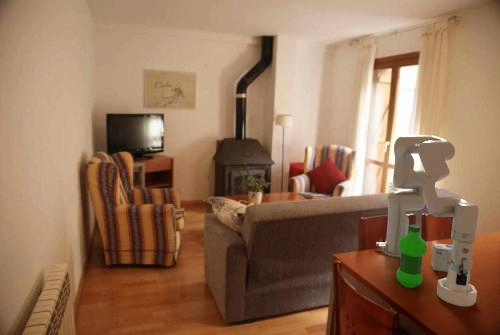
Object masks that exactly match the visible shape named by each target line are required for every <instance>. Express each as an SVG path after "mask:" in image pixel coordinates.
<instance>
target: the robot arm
mask: <svg viewBox="0 0 500 335" xmlns="http://www.w3.org/2000/svg"><path fill="white" fill-rule="evenodd" d="M393 151H394V166H393V177H392V184H393V186H394V187H395V189H399V190H398V191H397V190H396V191H392V192H390V193H389V194H388V196H387V200H386V201H387V202H386V203H387V208H388V209H387V210H388V212H387V227H386V240H385V241H384V242H378V241H376V243H375V244H376V245H375V246H376V247H378V248H382V249H381V251H382V253H383V254H384V255H387V256H389V257H392V258H398V259H399V258H401V252H400V250H399V245H398V243H399V240H400V238H402V237H403V236H405V235H407V234H409V230H408V225H410V219H409V216H408V215H407V214H406V212H407V211H409V212H410V211H420V210H421V211H422V210H423V209H424V208H426V209H427V211H428V213H429V214H430V215H432V216H433V217H436V218H446V217H447V218H451V217H452V223H451V224H452V225H451V226H452V227H451V233H450V238H451V239H452V244H451V245H452V252H451V258H452V261H451V262H454V264H455V266H456V267H457V268H458V274H457V277H456V284H457V285H462V286H466V283H467V275H468V274H467V273H468V269H470V270H472V264H473V252H474V251H473V249H474V248H473V246H474V245H473V243H475V241H476V233H477V226H478V219H479V212H480V211H479V210H480V209H479V206H478V205H477V204H475V203H473V202H469V201H467V200H465V199H464V198H462V197H460V196H459V197H456V196H455V197H454V196H453V197H450V196H449V197H448V196H444V197H439V195H438V193H437V190H436V183H437V182H440V181H442V180H444V179H446V178H447V177H448V176H450V172H451V171H450V168H449V166H448V164H447V161H451V160H452V159H453V158H454V157H455V155H456V149H455V146H454V145H453V143H452V142H450V141H449V140H446V139H445V138H444V139H443V138H441V137H438V136H435V135H430V134H429V135H428V134H427V135H426V134H423V135H422V134H418V135H417V134H408V135H406V134H405V135H402V136H399V137H397V138H396V140H395V142H394V145H393ZM412 154H413V155H415V154H417V155H418V156H419V159H420V162H421V164H422V167H423V169H424V170H423V169H418V168H415V158H414V157H413V155H412ZM425 206H426V207H425ZM451 264H452V263H451ZM460 265H461V266H460ZM460 269H463V270H461V271H460Z"/></svg>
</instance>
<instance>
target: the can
mask: <svg viewBox="0 0 500 335" xmlns="http://www.w3.org/2000/svg"><path fill="white" fill-rule="evenodd" d="M460 266H461V265H460ZM461 270H463V269H460V271H461ZM471 273H472V272H471V269H468V273H467V274H468V275H467V283H466V286H462V285H457V284H456V277H457V274H458V268H457V267H456V266H455V264H454V262H452V264H451V265H450V266H449V270H448V272H447V276H446V278H447V282H446V288H448V289H450V290H452V291H456V292H462V293H467V291H468V285H469V284H470V279H471Z"/></svg>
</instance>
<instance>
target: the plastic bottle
mask: <svg viewBox="0 0 500 335" xmlns="http://www.w3.org/2000/svg"><path fill="white" fill-rule="evenodd" d="M420 232H421V226H420V225H418V224H412V223H411V224H410V223H409V225H408V234H407V235H405V236H403V237H402V238H400V240H399V243H398V245H399V250H400V252H401V258H400V259H399V260H400V261H399V267H398V269H397V270H396V279H397V281H398V282H399V283H400V284H401V285H402V286H403V287H404V288H408V289H414V288H416V287H418V286H420V285H421V284H422V283H423V279H424V278H423V275H422V263H423V256H425V255H426V254H427V250H428V246H427V243H426V241H425V240H424V239H423V238H422V237H421V236H420V234H419V233H420Z"/></svg>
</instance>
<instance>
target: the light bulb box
mask: <svg viewBox="0 0 500 335" xmlns="http://www.w3.org/2000/svg"><path fill="white" fill-rule="evenodd" d="M451 252H452V244H447V243H446V244H444V243H436V242H433V243H432V254H431V263H430V265H431V267H432V271H438V272H445V273H448V270H449V266H450V265H451V263H452V262H451V261H452V258H451Z"/></svg>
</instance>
